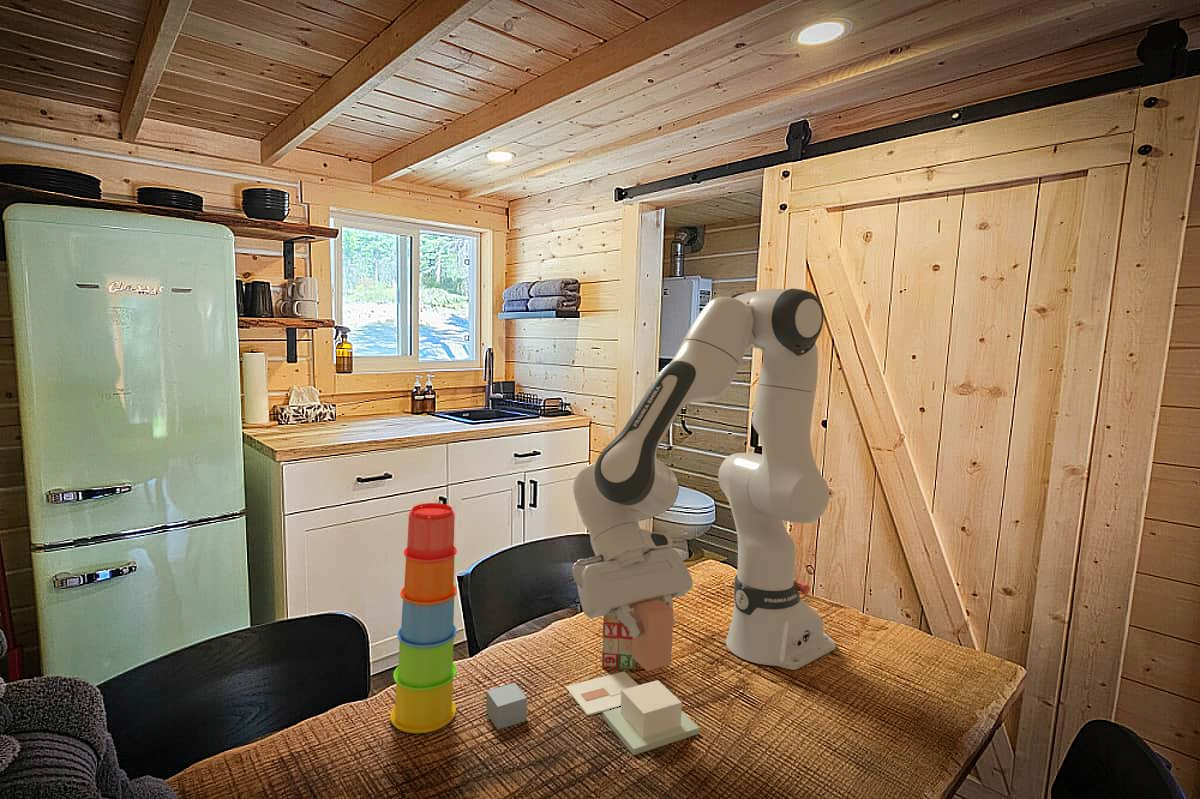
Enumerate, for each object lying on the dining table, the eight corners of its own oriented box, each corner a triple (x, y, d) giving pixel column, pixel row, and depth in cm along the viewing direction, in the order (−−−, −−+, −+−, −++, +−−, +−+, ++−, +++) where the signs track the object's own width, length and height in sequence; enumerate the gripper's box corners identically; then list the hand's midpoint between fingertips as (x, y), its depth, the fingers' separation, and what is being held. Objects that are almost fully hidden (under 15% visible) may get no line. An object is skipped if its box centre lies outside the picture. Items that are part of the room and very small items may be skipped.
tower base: (664, 700, 105) (665, 672, 105) (699, 733, 97) (700, 703, 96) (602, 718, 100) (603, 688, 99) (633, 755, 91) (634, 723, 91)
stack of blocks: (613, 617, 137) (614, 564, 135) (641, 620, 136) (642, 566, 135) (601, 668, 115) (603, 605, 114) (634, 671, 115) (636, 607, 114)
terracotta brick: (655, 651, 100) (657, 598, 99) (671, 664, 96) (673, 609, 95) (631, 657, 98) (633, 602, 97) (646, 670, 94) (648, 614, 93)
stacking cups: (442, 690, 107) (442, 495, 103) (466, 720, 98) (467, 509, 95) (382, 709, 101) (380, 503, 97) (402, 743, 92) (400, 519, 89)
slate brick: (514, 705, 103) (514, 682, 103) (526, 721, 99) (527, 697, 98) (486, 713, 101) (486, 690, 100) (497, 730, 96) (497, 706, 96)
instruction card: (624, 672, 114) (624, 670, 114) (650, 698, 106) (650, 696, 106) (565, 687, 108) (565, 685, 108) (587, 716, 100) (587, 713, 100)
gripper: (575, 552, 96) (607, 638, 89) (677, 534, 107) (713, 609, 99) (561, 570, 100) (590, 654, 93) (660, 551, 111) (693, 624, 104)
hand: (654, 631), depth 96 cm, fingers closed on terracotta brick, 5 cm apart
